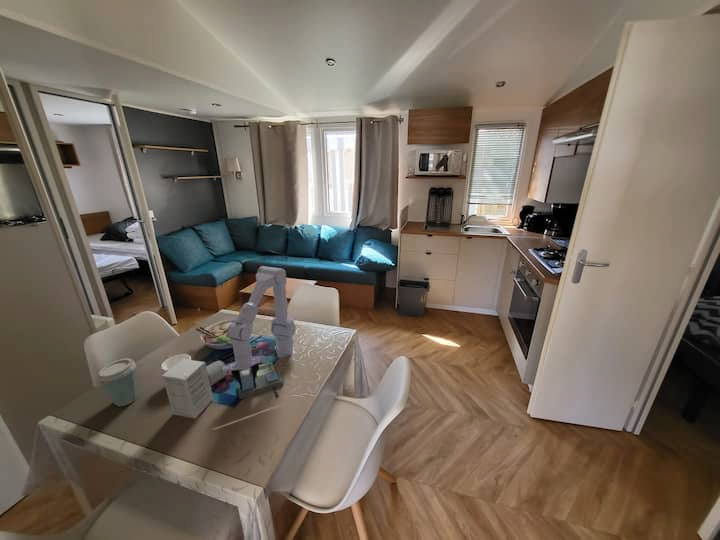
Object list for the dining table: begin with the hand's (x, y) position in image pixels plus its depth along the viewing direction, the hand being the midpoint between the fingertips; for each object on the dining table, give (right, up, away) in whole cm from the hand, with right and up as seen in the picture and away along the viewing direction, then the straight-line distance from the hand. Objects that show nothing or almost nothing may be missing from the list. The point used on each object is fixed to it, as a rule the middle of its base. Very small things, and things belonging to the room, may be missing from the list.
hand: (247, 382), depth 105 cm
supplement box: (-17, -6, -6) cm, 19 cm away
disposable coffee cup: (-43, -5, -3) cm, 44 cm away
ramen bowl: (-21, +7, +30) cm, 38 cm away
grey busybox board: (+5, -4, +1) cm, 7 cm away
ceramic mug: (-17, -2, +7) cm, 19 cm away
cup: (-29, -2, +6) cm, 30 cm away
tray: (+3, 0, +11) cm, 11 cm away
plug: (0, -1, 0) cm, 2 cm away
